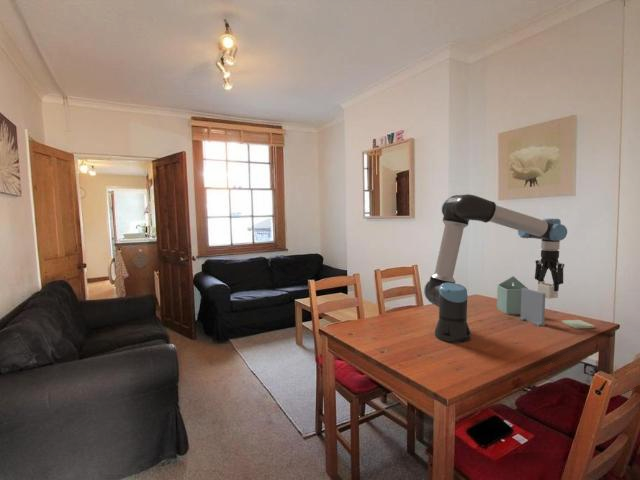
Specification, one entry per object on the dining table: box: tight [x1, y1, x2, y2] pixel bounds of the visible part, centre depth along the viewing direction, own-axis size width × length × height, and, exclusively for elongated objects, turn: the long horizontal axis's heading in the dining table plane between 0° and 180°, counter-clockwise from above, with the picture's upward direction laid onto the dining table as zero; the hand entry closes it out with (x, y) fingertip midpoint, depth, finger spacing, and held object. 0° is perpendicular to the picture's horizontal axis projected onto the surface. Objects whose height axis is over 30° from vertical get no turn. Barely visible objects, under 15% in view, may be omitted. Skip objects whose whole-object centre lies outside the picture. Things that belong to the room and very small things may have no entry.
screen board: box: [518, 288, 547, 327], centre depth 172 cm, size 12×5×16 cm, turn 18°
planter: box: [496, 275, 529, 315], centre depth 188 cm, size 16×8×20 cm, turn 40°
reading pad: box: [561, 319, 596, 329], centre depth 167 cm, size 9×9×1 cm
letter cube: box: [537, 282, 559, 299], centre depth 172 cm, size 6×6×6 cm
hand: (547, 295), depth 172 cm, fingers closed on letter cube, 6 cm apart
